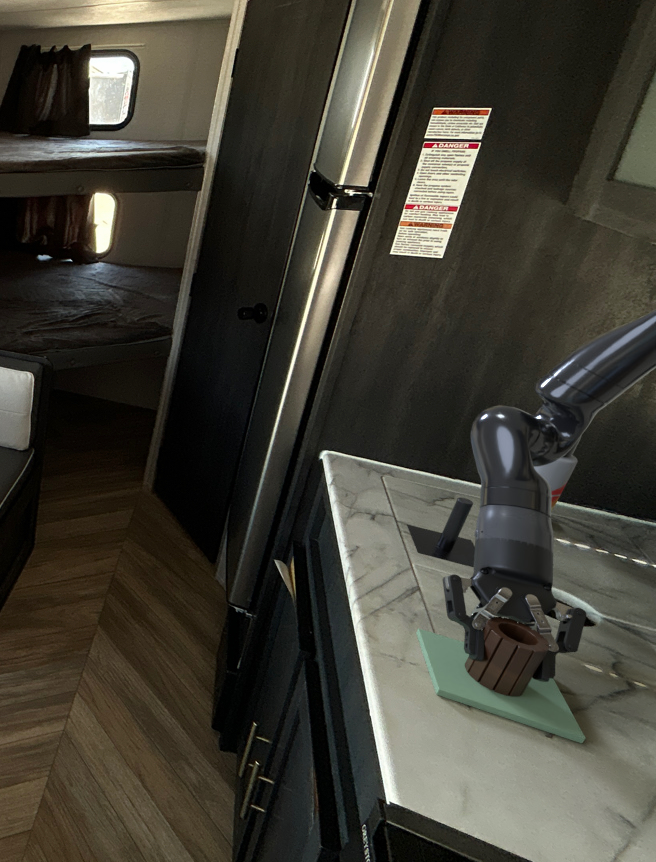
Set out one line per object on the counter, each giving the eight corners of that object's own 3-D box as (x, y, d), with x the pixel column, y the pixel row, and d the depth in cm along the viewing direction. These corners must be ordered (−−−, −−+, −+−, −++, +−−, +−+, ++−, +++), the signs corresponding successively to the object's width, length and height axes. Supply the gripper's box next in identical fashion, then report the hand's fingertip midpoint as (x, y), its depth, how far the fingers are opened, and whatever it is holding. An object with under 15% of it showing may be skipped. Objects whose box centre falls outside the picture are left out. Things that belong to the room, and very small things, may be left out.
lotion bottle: (547, 536, 114) (597, 440, 106) (505, 527, 116) (551, 432, 109) (535, 520, 118) (582, 426, 111) (495, 511, 121) (538, 419, 113)
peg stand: (467, 546, 111) (492, 494, 107) (483, 577, 104) (510, 523, 100) (403, 530, 115) (424, 480, 111) (414, 559, 108) (437, 506, 104)
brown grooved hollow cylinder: (514, 671, 86) (539, 627, 83) (530, 703, 81) (557, 658, 78) (459, 654, 89) (481, 610, 85) (471, 684, 84) (495, 640, 81)
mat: (544, 672, 87) (547, 667, 87) (582, 743, 77) (586, 738, 77) (415, 633, 93) (418, 628, 93) (436, 694, 84) (438, 689, 83)
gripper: (458, 523, 87) (449, 647, 82) (603, 558, 81) (604, 695, 76) (434, 533, 94) (425, 649, 89) (567, 566, 87) (566, 693, 82)
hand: (508, 669), depth 82 cm, fingers closed on brown grooved hollow cylinder, 5 cm apart
